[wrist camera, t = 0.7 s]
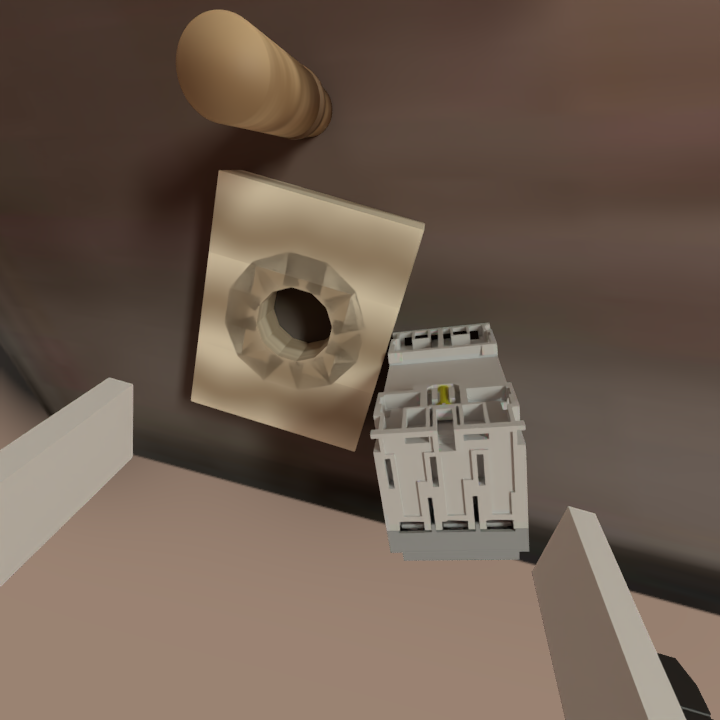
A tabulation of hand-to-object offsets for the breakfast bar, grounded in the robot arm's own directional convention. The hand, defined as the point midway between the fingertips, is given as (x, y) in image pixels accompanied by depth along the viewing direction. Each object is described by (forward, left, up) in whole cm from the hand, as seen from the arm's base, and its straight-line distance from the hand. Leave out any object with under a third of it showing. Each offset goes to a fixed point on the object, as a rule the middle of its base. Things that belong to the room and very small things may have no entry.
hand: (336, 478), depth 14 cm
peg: (-10, -9, -24) cm, 27 cm away
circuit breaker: (+9, +7, -24) cm, 26 cm away
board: (+4, -6, -24) cm, 25 cm away
